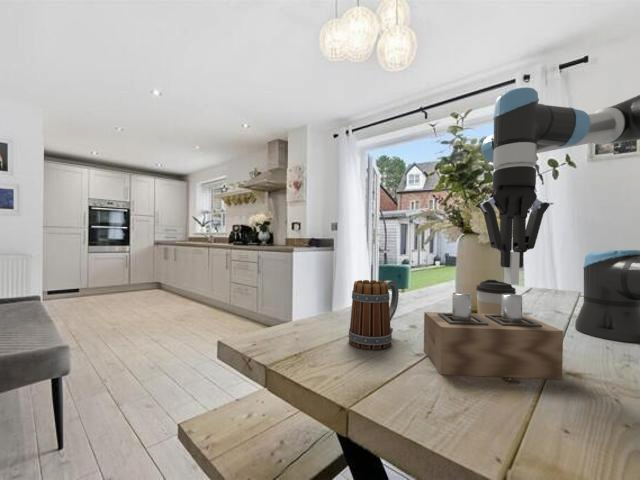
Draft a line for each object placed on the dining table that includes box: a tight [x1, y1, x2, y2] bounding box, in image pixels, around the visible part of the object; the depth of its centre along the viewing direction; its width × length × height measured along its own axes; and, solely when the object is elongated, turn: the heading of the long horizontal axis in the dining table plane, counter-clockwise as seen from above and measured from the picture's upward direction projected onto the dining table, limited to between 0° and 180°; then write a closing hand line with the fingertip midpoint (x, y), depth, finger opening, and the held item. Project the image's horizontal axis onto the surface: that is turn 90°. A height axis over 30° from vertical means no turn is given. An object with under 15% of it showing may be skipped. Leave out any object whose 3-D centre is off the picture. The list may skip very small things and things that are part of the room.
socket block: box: [423, 311, 564, 380], centre depth 64 cm, size 22×12×9 cm, turn 86°
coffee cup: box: [475, 279, 517, 314], centre depth 80 cm, size 9×9×15 cm
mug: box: [348, 279, 400, 351], centre depth 77 cm, size 16×11×15 cm
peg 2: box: [501, 293, 523, 323], centre depth 63 cm, size 4×4×8 cm
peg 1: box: [451, 291, 472, 322], centre depth 64 cm, size 4×4×8 cm
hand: (511, 283), depth 63 cm, fingers closed
